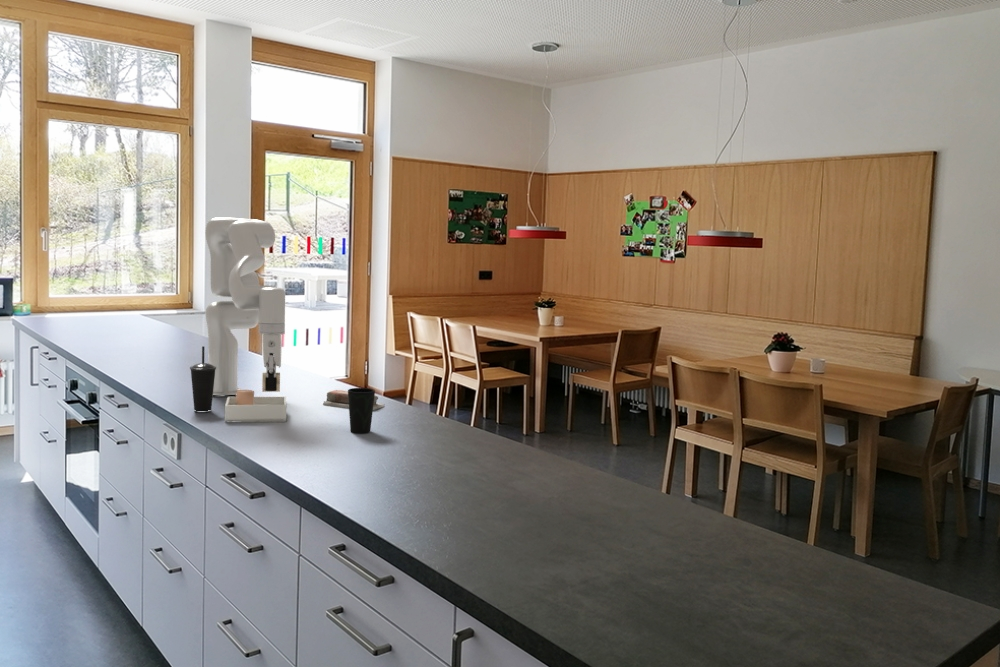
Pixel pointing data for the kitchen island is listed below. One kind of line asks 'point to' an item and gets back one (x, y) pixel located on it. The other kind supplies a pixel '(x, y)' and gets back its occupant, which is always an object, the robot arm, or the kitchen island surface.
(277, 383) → the cube
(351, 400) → the cup
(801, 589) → the kitchen island surface
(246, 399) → the cylinder
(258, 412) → the tote
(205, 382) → the drinking cup
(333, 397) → the packaged product
